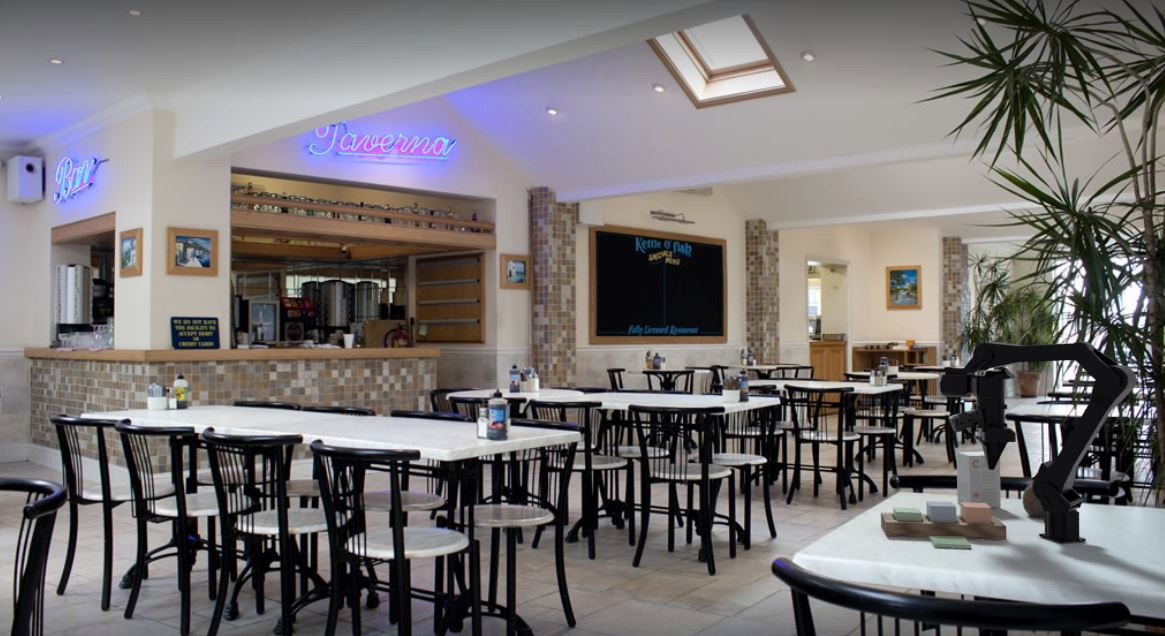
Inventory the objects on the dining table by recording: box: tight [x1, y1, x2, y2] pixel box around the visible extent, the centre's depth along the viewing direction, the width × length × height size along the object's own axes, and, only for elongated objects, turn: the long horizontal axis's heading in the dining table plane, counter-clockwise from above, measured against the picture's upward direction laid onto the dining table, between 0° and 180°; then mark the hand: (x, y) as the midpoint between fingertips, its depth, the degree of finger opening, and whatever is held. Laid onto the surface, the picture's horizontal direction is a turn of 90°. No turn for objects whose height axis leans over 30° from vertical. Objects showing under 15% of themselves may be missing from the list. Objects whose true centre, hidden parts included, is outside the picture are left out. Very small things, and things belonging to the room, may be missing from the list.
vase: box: [1022, 479, 1045, 519], centre depth 217 cm, size 7×7×9 cm
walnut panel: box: [880, 512, 1007, 541], centre depth 200 cm, size 24×10×3 cm, turn 78°
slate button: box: [926, 500, 957, 523], centre depth 200 cm, size 5×5×4 cm
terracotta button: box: [960, 502, 992, 524], centre depth 199 cm, size 5×5×4 cm
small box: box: [956, 451, 1002, 509], centre depth 229 cm, size 8×6×13 cm
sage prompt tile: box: [928, 536, 972, 549], centre depth 191 cm, size 7×7×1 cm
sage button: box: [892, 506, 923, 521], centre depth 202 cm, size 5×5×4 cm
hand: (991, 469), depth 204 cm, fingers closed
